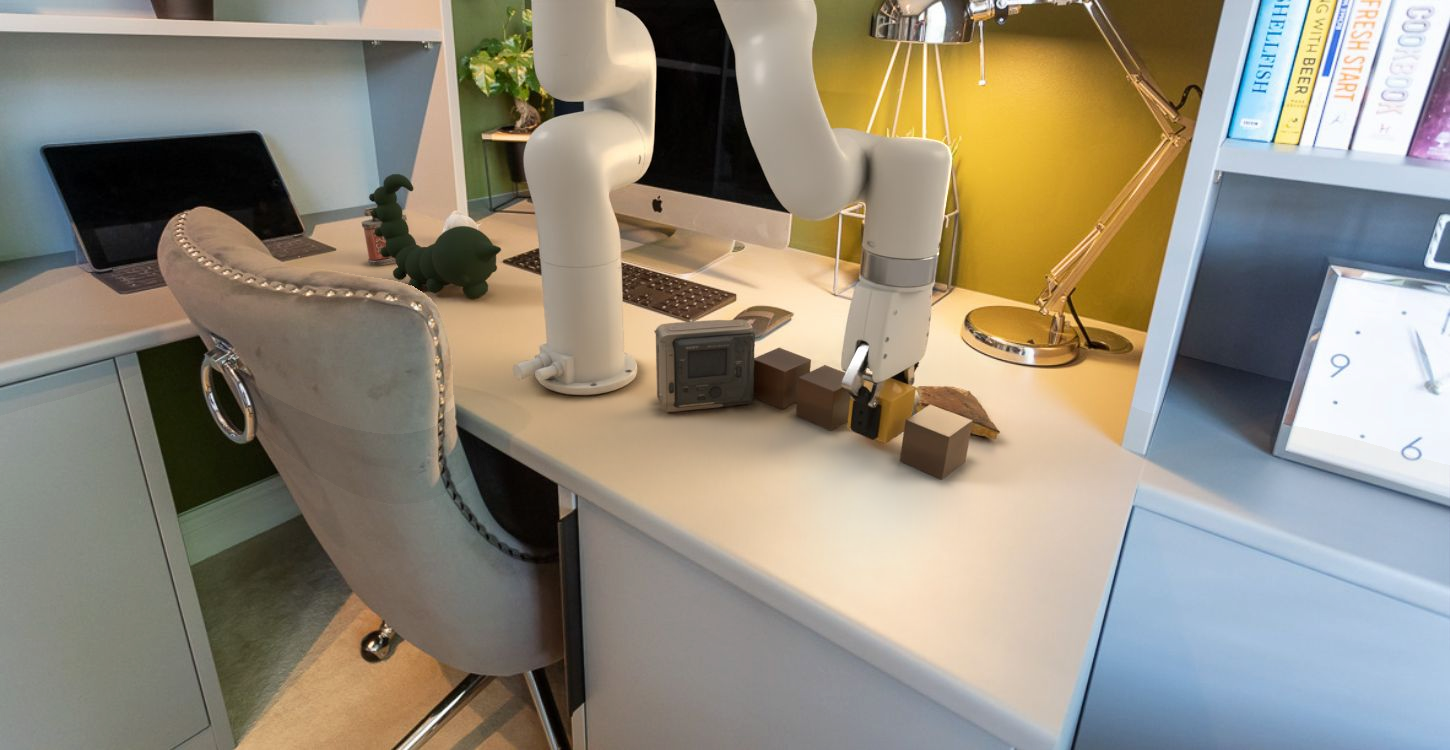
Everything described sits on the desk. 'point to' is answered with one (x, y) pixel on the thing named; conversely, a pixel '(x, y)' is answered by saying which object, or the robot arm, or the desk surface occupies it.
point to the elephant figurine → (459, 221)
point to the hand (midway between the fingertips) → (878, 423)
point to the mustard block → (891, 408)
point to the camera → (704, 364)
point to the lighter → (375, 240)
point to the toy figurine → (433, 248)
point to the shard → (958, 407)
